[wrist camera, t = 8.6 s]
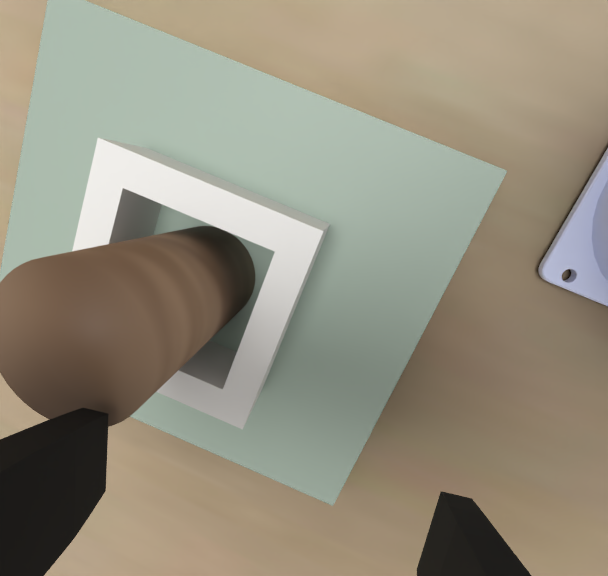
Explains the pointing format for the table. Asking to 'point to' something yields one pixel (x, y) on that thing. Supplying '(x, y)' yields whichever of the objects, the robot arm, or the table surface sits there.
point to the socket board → (249, 230)
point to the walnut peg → (117, 318)
